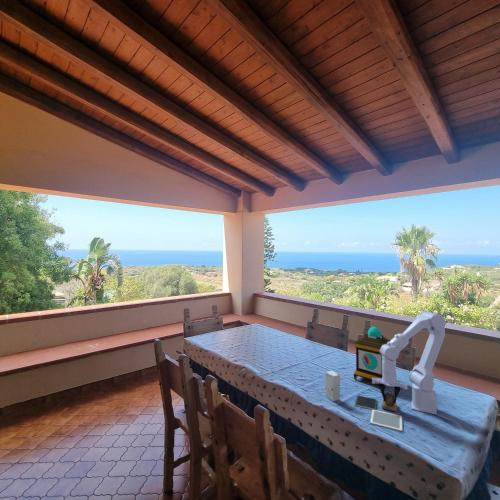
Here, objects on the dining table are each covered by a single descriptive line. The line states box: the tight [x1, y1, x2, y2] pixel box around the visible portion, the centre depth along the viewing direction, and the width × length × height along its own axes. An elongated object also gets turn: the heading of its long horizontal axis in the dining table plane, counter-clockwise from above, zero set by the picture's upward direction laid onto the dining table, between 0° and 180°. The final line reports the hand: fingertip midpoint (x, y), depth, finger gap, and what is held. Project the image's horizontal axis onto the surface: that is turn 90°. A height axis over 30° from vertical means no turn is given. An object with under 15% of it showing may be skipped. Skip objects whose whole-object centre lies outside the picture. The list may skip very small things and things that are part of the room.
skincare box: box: [324, 370, 341, 402], centre depth 138 cm, size 6×4×12 cm
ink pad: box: [354, 395, 378, 411], centre depth 132 cm, size 9×9×1 cm
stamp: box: [381, 391, 398, 413], centre depth 129 cm, size 6×6×6 cm
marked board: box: [369, 409, 404, 433], centre depth 118 cm, size 12×12×1 cm
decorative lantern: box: [353, 326, 392, 389], centre depth 159 cm, size 20×20×30 cm
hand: (389, 401), depth 129 cm, fingers closed on stamp, 4 cm apart
